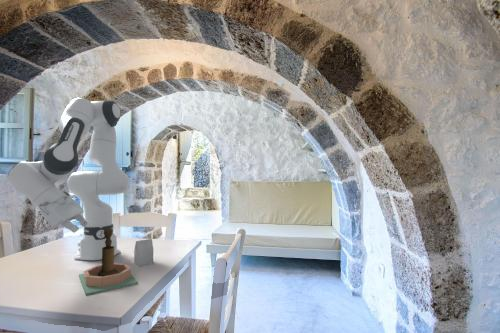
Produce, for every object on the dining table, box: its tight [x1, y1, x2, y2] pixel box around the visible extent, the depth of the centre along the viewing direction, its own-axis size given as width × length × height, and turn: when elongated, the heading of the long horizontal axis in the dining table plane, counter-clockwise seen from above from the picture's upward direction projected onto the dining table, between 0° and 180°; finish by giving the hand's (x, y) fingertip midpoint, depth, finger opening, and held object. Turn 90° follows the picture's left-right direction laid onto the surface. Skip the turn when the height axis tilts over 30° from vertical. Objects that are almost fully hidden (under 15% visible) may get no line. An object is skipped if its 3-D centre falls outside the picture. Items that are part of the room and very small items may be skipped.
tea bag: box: [133, 238, 154, 267], centre depth 122 cm, size 4×7×10 cm, turn 131°
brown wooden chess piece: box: [98, 228, 118, 277], centre depth 104 cm, size 7×6×18 cm
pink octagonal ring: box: [83, 262, 132, 287], centre depth 104 cm, size 14×14×3 cm
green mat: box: [78, 272, 139, 296], centre depth 104 cm, size 20×16×1 cm
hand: (81, 227), depth 102 cm, fingers open, 8 cm apart
